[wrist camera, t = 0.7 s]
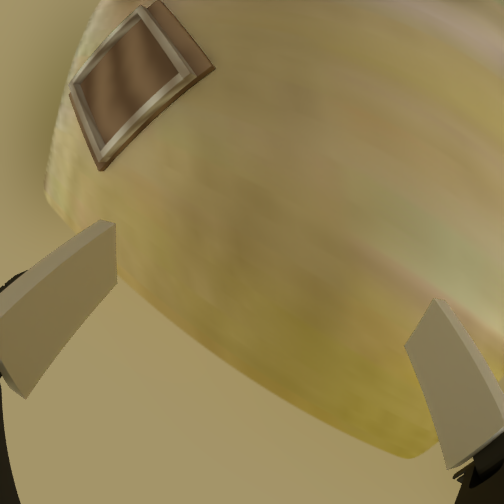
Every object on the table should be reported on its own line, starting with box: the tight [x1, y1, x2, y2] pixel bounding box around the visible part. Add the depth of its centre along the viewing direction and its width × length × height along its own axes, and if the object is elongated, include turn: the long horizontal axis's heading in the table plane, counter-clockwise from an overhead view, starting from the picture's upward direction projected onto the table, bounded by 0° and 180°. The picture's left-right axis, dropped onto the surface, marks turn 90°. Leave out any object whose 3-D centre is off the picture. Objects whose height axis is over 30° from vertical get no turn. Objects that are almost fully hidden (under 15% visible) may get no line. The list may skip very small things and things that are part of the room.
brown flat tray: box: [68, 0, 216, 171], centre depth 27 cm, size 20×16×2 cm
